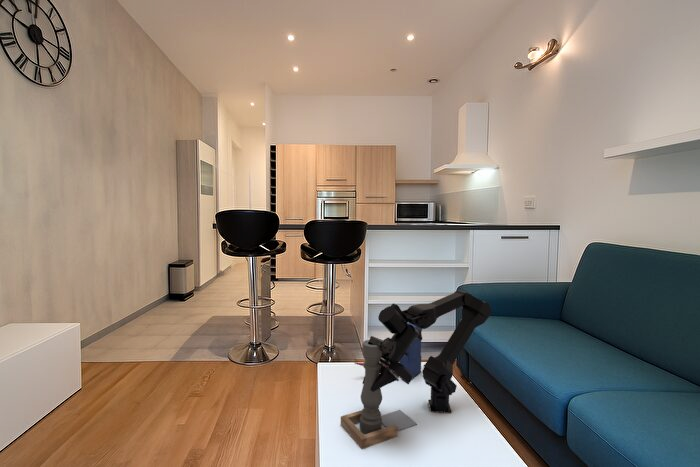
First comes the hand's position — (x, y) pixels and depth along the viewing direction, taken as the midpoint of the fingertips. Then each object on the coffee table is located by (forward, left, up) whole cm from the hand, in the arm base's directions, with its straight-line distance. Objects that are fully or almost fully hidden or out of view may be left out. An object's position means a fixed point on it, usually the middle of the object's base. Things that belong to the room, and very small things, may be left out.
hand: (367, 387), depth 100 cm
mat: (-6, +9, -13) cm, 16 cm away
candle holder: (-1, +1, -13) cm, 13 cm away
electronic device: (-38, +14, -13) cm, 42 cm away
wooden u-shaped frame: (-1, +1, -13) cm, 13 cm away
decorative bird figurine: (-34, +2, -13) cm, 36 cm away
